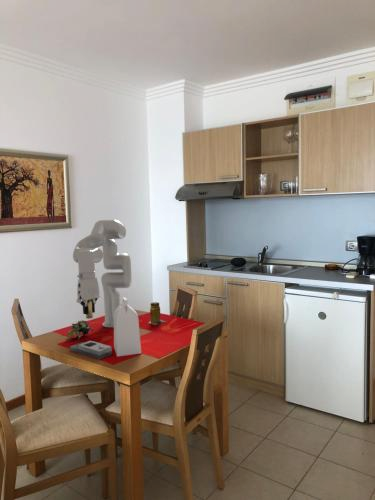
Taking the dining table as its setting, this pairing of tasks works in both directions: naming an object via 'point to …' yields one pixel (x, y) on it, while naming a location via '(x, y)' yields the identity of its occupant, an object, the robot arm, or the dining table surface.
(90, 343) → the grey long rectangular block
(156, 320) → the condiment
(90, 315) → the brass pin
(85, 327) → the passion flower
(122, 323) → the milk
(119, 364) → the dining table surface
